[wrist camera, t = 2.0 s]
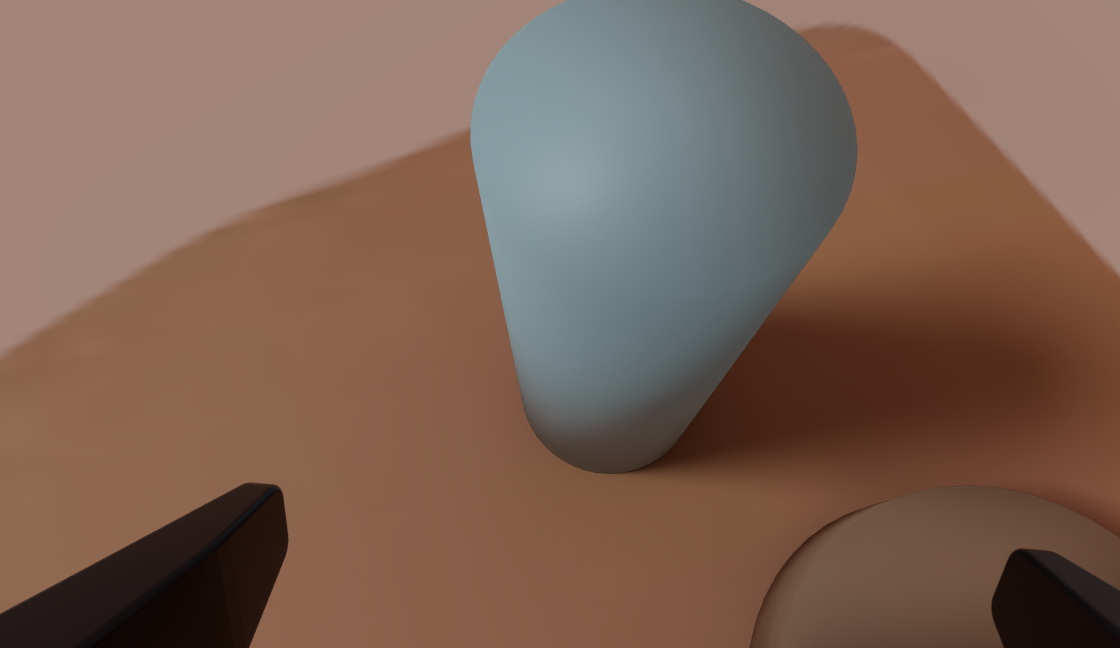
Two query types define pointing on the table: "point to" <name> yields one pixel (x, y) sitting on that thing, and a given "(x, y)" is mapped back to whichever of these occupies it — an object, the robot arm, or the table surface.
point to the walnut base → (920, 570)
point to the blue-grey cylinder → (650, 206)
